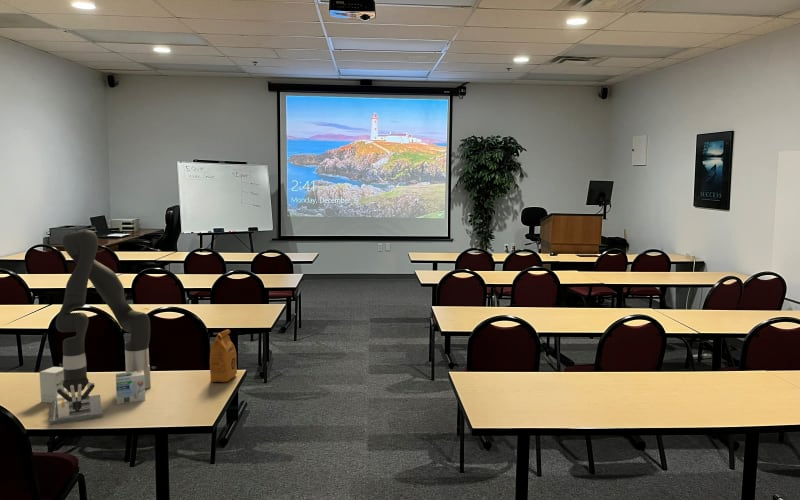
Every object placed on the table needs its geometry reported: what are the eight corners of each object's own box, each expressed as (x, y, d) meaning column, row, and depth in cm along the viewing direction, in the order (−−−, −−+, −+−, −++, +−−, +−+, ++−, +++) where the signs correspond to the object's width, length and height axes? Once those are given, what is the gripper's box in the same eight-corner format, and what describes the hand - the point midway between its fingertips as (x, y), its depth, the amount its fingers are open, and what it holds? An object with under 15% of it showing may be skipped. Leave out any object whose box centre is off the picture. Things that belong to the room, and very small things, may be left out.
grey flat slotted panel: (100, 398, 242) (99, 393, 242) (102, 416, 223) (102, 411, 223) (52, 405, 234) (51, 400, 234) (50, 425, 215) (49, 420, 215)
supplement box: (56, 403, 236) (54, 373, 234) (40, 402, 237) (38, 371, 236) (70, 397, 243) (68, 367, 242) (54, 395, 245) (52, 366, 243)
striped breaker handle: (69, 412, 222) (68, 399, 222) (69, 416, 219) (68, 403, 218) (58, 414, 221) (57, 400, 220) (58, 417, 217) (57, 404, 217)
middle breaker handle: (68, 405, 229) (67, 393, 228) (68, 409, 225) (67, 396, 225) (57, 407, 227) (57, 394, 226) (57, 410, 224) (56, 398, 223)
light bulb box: (116, 404, 236) (115, 378, 234) (116, 399, 241) (115, 373, 240) (146, 400, 240) (144, 374, 239) (144, 394, 246) (143, 369, 245)
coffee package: (240, 375, 272) (239, 328, 269) (227, 384, 260) (226, 335, 257) (220, 373, 274) (219, 327, 271) (206, 382, 262) (205, 334, 259)
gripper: (94, 360, 226) (96, 404, 228) (54, 365, 220) (57, 410, 222) (95, 365, 220) (97, 410, 222) (54, 371, 213) (56, 417, 215)
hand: (77, 410), depth 222 cm, fingers closed
